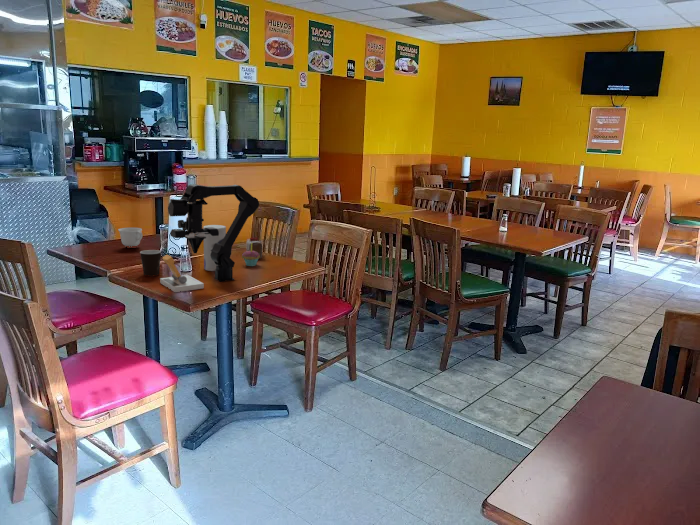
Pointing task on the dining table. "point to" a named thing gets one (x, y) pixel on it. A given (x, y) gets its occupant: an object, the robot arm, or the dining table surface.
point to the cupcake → (251, 257)
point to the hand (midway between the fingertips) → (195, 253)
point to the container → (209, 245)
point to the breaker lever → (171, 266)
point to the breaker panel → (181, 283)
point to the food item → (254, 245)
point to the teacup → (130, 236)
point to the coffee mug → (151, 262)
